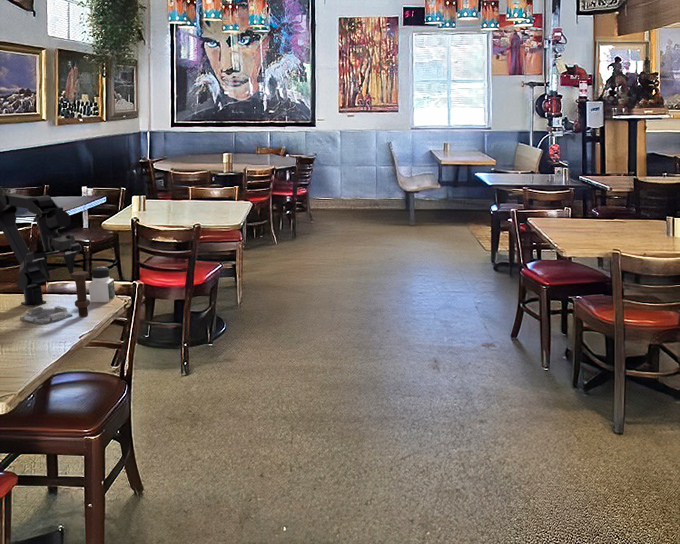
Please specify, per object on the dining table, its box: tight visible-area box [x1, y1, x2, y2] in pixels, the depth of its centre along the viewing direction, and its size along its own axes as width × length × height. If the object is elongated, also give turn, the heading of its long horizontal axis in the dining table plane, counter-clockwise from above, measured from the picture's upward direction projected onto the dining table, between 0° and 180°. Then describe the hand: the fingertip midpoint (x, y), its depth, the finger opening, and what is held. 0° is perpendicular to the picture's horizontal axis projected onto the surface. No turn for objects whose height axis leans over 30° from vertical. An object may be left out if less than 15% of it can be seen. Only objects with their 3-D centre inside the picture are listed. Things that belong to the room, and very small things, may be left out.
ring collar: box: [19, 305, 73, 326], centre depth 272 cm, size 13×13×2 cm
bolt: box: [70, 270, 91, 318], centre depth 272 cm, size 6×5×15 cm
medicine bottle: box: [88, 266, 116, 303], centre depth 292 cm, size 7×7×12 cm
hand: (60, 276), depth 277 cm, fingers open, 9 cm apart
